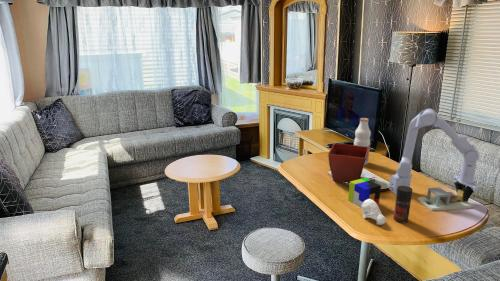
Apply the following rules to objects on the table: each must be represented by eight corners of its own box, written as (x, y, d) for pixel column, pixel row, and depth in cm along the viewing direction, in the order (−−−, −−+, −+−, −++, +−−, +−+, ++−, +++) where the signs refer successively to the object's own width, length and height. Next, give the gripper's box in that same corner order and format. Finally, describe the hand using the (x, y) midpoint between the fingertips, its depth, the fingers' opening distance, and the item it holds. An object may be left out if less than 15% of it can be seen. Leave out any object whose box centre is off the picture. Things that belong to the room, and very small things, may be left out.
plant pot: (325, 182, 200) (327, 153, 195) (332, 170, 217) (334, 142, 212) (362, 188, 193) (365, 158, 188) (365, 175, 210) (368, 147, 205)
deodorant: (391, 216, 165) (395, 185, 161) (403, 216, 166) (408, 185, 161) (397, 223, 160) (401, 191, 155) (410, 222, 160) (415, 191, 156)
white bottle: (349, 162, 229) (353, 118, 220) (357, 159, 235) (361, 116, 226) (362, 166, 222) (367, 121, 214) (370, 162, 228) (375, 118, 220)
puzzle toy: (362, 209, 172) (365, 189, 169) (348, 200, 181) (349, 181, 177) (378, 204, 176) (381, 185, 173) (363, 196, 185) (365, 177, 182)
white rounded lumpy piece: (372, 195, 165) (392, 209, 156) (368, 212, 169) (388, 226, 159) (361, 198, 163) (381, 213, 153) (358, 215, 166) (377, 230, 156)
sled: (445, 203, 175) (447, 194, 173) (439, 199, 179) (441, 190, 177) (468, 201, 176) (470, 192, 175) (462, 197, 181) (464, 188, 179)
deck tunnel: (431, 210, 171) (433, 197, 169) (417, 199, 181) (419, 187, 179) (472, 207, 174) (475, 194, 172) (456, 197, 184) (459, 184, 182)
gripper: (486, 178, 168) (481, 205, 172) (464, 166, 181) (459, 191, 185) (472, 178, 167) (467, 206, 171) (451, 167, 180) (446, 192, 184)
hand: (462, 198), depth 178 cm, fingers closed on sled, 4 cm apart
